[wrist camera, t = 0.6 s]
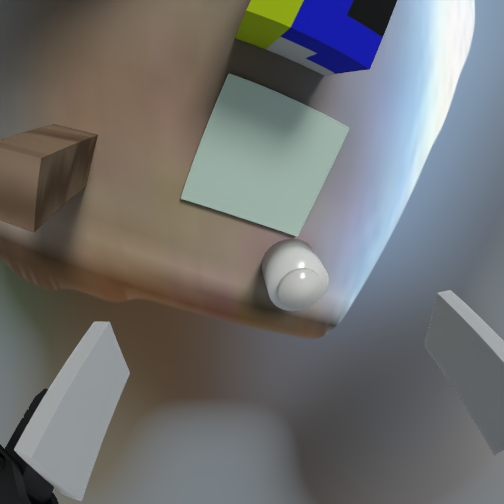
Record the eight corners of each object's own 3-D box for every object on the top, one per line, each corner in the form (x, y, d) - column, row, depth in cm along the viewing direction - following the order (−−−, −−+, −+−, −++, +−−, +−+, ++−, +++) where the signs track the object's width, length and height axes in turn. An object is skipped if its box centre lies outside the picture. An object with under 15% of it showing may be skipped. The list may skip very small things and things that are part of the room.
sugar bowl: (275, 231, 35) (286, 256, 29) (324, 248, 37) (342, 273, 32) (252, 279, 37) (259, 308, 32) (300, 291, 39) (312, 320, 34)
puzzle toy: (323, 75, 26) (369, 69, 18) (234, 38, 23) (245, 10, 15) (353, 7, 22) (402, -15, 14) (270, -31, 19) (294, -74, 11)
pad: (228, 73, 25) (228, 73, 25) (347, 127, 29) (349, 127, 29) (181, 196, 31) (180, 198, 30) (296, 234, 35) (297, 236, 34)
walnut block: (53, 124, 24) (-13, 144, 14) (97, 134, 26) (41, 158, 16) (44, 174, 27) (-17, 214, 16) (86, 186, 29) (34, 232, 18)
